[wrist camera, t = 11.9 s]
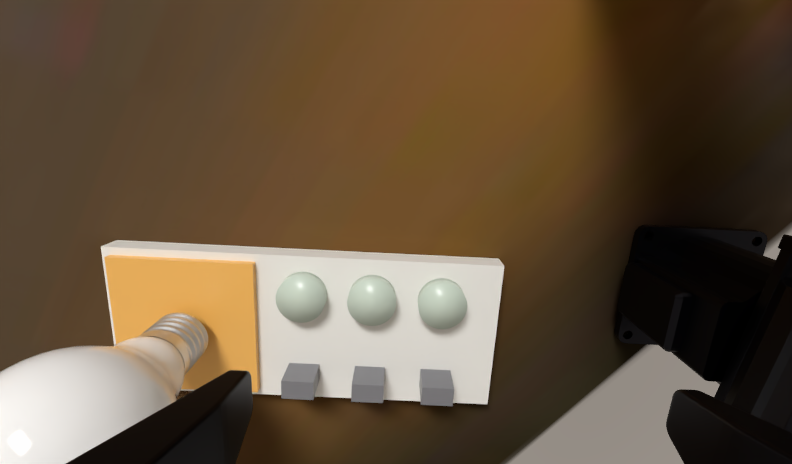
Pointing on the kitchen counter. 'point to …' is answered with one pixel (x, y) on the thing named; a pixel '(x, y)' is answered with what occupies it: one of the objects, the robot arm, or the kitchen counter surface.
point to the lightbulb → (93, 391)
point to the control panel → (319, 317)
